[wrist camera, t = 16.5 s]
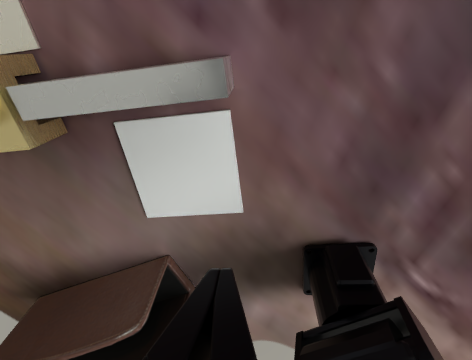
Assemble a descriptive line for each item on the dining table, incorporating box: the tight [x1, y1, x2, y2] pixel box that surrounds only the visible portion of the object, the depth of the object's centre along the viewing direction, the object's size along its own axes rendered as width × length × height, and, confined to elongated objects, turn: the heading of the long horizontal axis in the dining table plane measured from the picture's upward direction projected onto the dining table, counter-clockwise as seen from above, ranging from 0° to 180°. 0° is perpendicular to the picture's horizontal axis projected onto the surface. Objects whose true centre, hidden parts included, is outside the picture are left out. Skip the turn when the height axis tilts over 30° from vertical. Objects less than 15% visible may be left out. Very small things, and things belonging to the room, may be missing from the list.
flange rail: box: [0, 0, 234, 121], centre depth 14 cm, size 11×22×6 cm, turn 97°
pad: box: [114, 110, 243, 218], centre depth 21 cm, size 9×9×1 cm
